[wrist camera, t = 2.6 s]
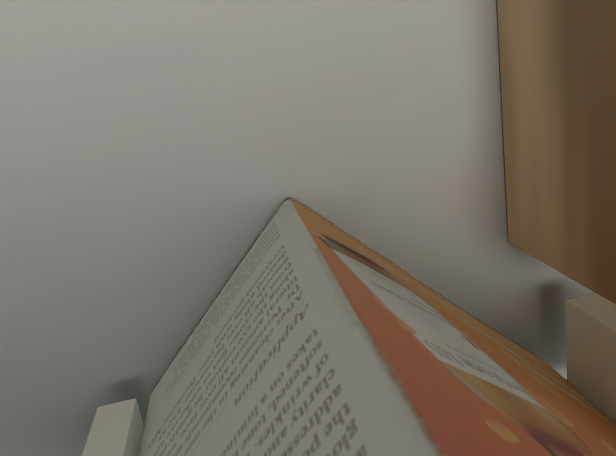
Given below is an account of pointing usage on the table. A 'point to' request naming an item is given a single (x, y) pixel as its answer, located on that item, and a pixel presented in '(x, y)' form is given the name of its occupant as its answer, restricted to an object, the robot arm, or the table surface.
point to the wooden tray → (561, 134)
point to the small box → (356, 366)
